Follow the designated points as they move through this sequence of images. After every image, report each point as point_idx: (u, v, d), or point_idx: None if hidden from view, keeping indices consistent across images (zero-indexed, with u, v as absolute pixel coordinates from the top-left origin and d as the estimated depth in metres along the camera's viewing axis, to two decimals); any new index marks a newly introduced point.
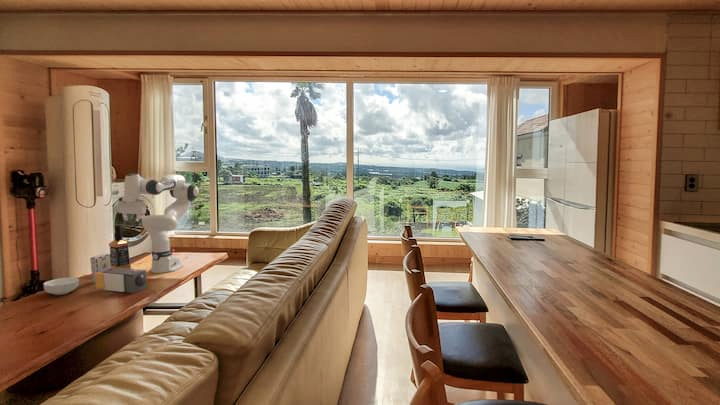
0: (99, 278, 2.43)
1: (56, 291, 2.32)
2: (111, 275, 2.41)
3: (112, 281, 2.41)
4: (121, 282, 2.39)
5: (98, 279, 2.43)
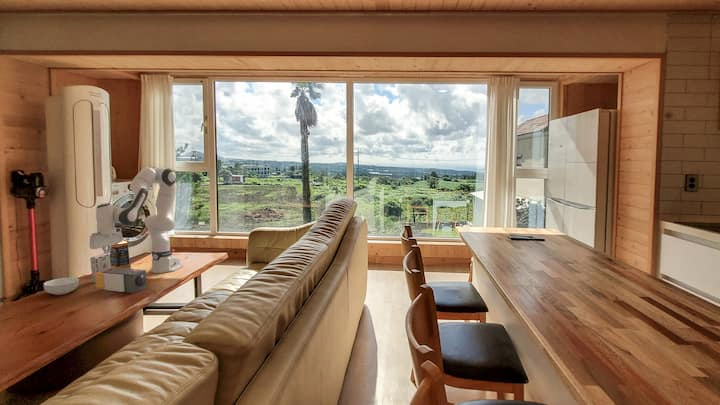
0: (99, 278, 2.43)
1: (56, 291, 2.32)
2: (111, 275, 2.41)
3: (112, 281, 2.41)
4: (121, 282, 2.39)
5: (98, 279, 2.43)
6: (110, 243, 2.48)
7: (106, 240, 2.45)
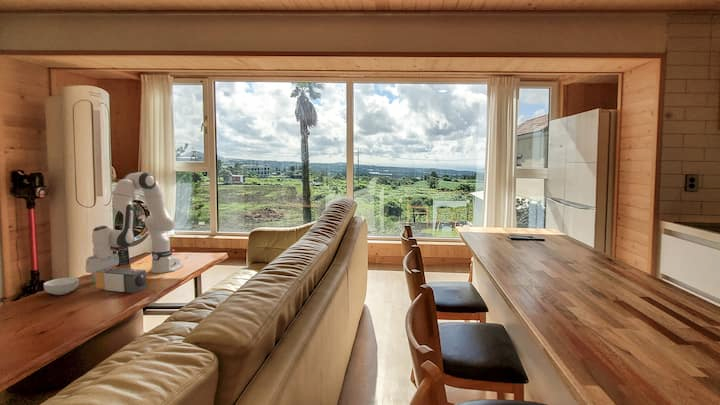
0: (99, 278, 2.43)
1: (56, 291, 2.32)
2: (111, 275, 2.41)
3: (111, 281, 2.41)
4: (121, 282, 2.39)
5: (98, 279, 2.43)
6: (106, 266, 2.46)
7: (102, 263, 2.43)
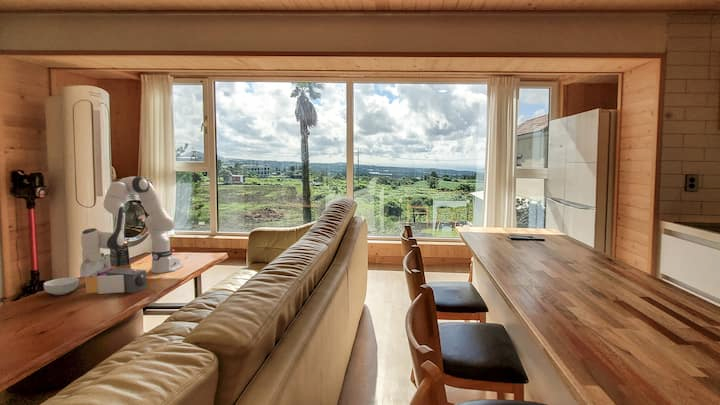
0: (91, 282, 2.35)
1: (56, 291, 2.32)
2: (108, 277, 2.37)
3: (108, 283, 2.37)
4: (121, 282, 2.38)
5: (90, 283, 2.35)
6: (96, 269, 2.38)
7: (94, 267, 2.36)
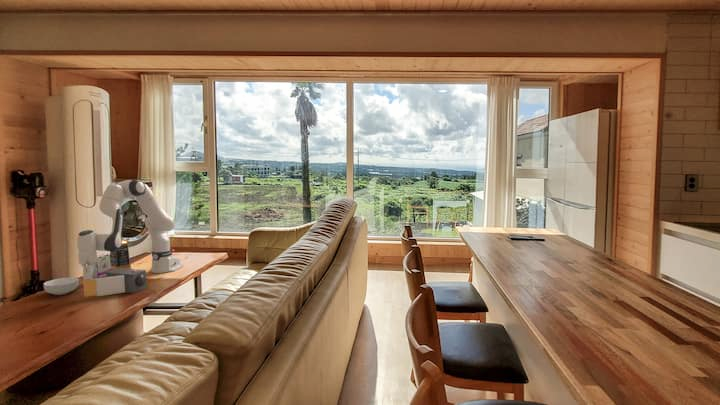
0: (90, 285, 2.29)
1: (56, 291, 2.32)
2: (107, 278, 2.34)
3: (108, 285, 2.35)
4: (122, 283, 2.38)
5: (88, 287, 2.29)
6: (92, 272, 2.33)
7: (91, 269, 2.31)
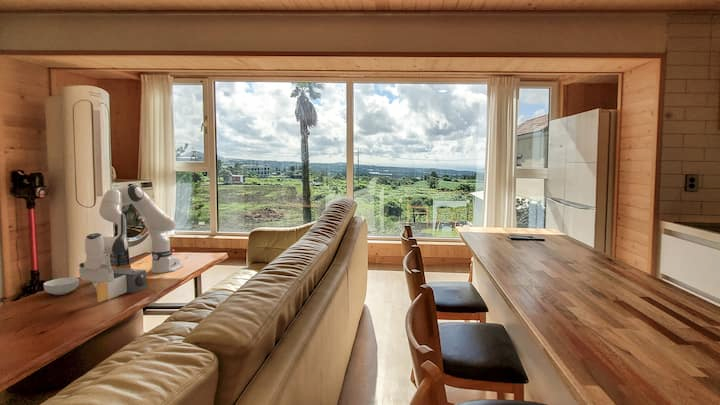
0: (103, 289, 2.23)
1: (56, 291, 2.32)
2: (115, 280, 2.31)
3: (115, 287, 2.32)
4: (125, 283, 2.38)
5: (102, 291, 2.22)
6: None
7: None
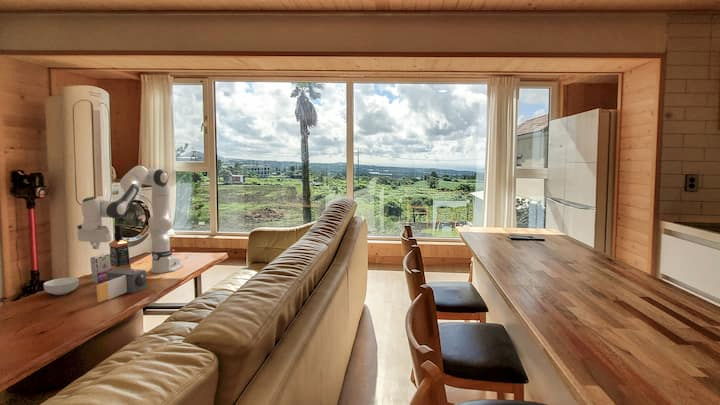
0: (103, 289, 2.23)
1: (56, 291, 2.32)
2: (115, 280, 2.31)
3: (115, 287, 2.32)
4: (125, 283, 2.38)
5: (102, 291, 2.22)
6: None
7: None
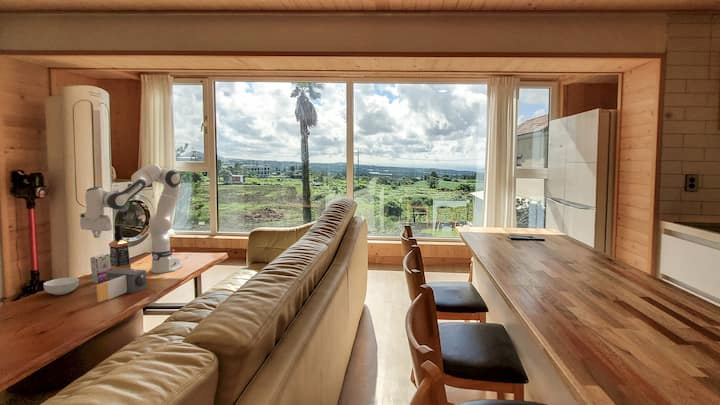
0: (103, 289, 2.23)
1: (56, 291, 2.32)
2: (115, 280, 2.31)
3: (115, 287, 2.32)
4: (125, 283, 2.38)
5: (102, 291, 2.22)
6: None
7: None
